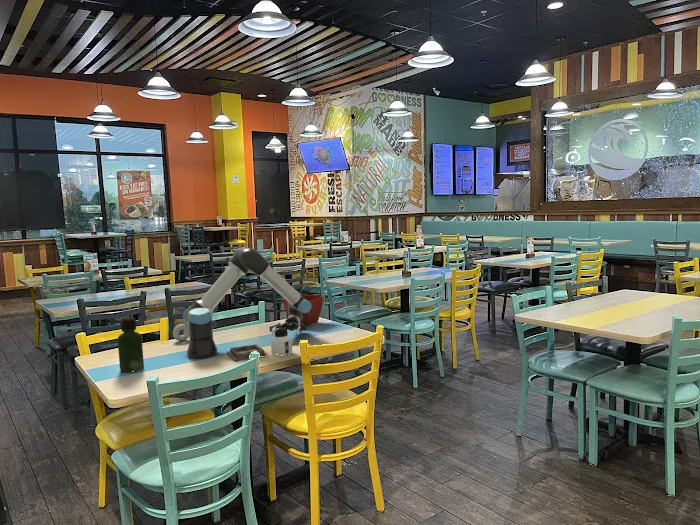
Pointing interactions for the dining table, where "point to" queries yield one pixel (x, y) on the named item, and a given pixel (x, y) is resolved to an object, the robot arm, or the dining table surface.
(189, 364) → the dining table surface
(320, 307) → the plant pot
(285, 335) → the container
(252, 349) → the plate
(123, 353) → the dark green bottle
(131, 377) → the dining table surface
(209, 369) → the dining table surface
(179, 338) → the donut
